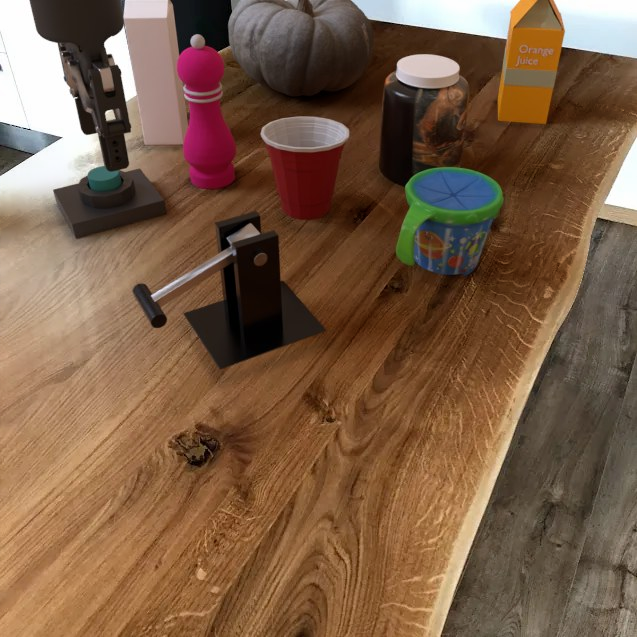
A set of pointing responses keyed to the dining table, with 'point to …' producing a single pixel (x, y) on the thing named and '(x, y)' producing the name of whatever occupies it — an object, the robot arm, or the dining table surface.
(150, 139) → the milk
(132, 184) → the control block
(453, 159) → the jar
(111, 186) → the button
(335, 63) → the gourd
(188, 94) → the pepper mill
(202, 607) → the dining table surface
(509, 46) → the orange juice
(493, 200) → the snack cup
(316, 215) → the plastic cup
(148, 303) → the lever
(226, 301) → the bracket
